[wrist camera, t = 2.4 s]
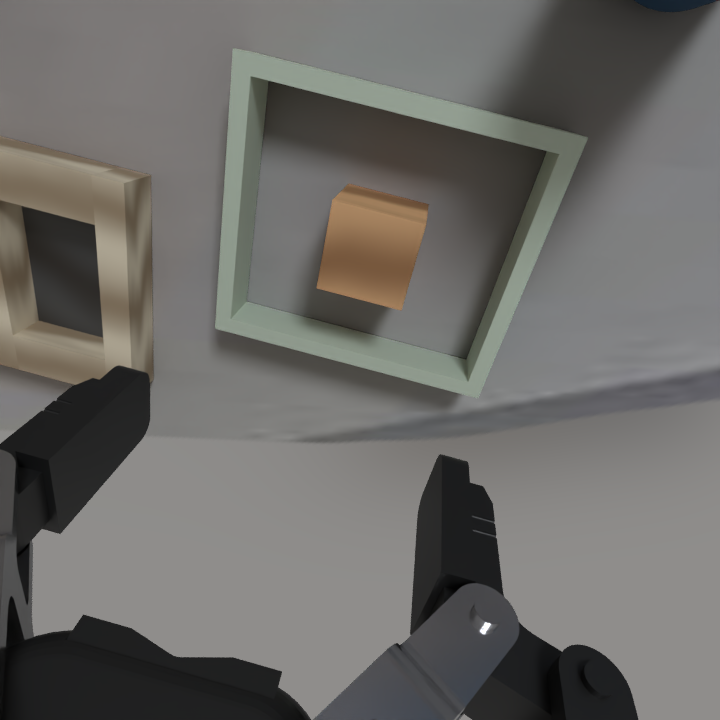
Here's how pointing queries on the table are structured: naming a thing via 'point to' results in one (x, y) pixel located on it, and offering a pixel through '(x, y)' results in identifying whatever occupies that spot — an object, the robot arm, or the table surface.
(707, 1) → the soda can
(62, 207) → the hole board
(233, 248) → the pale green shallow tray
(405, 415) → the table surface
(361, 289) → the cube
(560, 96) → the table surface
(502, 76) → the table surface
